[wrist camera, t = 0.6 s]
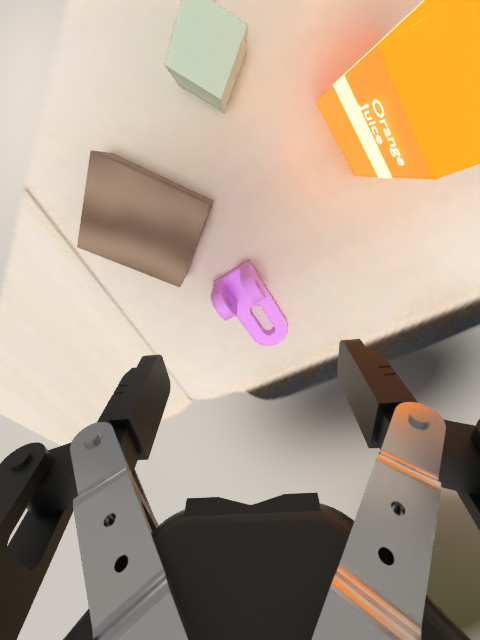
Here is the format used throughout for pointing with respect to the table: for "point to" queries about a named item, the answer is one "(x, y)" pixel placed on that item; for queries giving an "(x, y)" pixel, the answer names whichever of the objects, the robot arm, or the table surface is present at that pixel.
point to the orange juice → (413, 97)
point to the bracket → (248, 303)
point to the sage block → (207, 50)
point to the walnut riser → (140, 218)
